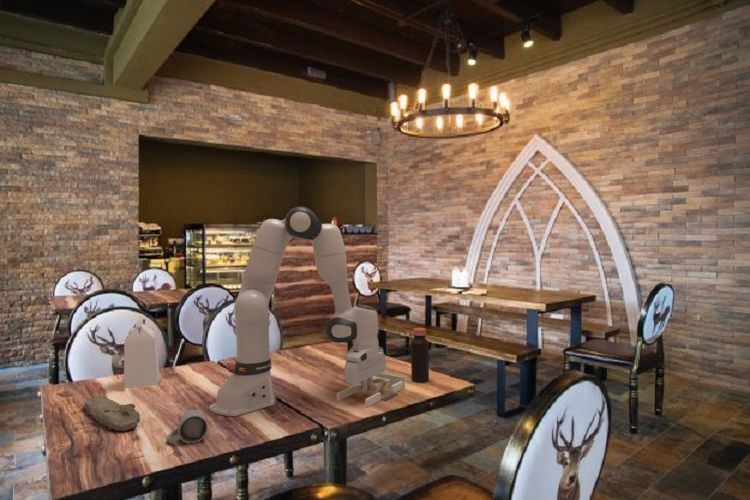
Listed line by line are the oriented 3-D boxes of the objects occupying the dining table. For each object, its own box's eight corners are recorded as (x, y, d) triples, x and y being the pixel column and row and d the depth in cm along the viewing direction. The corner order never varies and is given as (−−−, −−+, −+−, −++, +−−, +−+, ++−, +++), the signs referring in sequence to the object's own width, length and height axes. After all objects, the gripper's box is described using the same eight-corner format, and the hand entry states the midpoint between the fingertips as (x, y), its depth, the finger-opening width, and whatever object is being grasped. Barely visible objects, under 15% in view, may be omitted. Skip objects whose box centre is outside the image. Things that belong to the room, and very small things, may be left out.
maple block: (376, 397, 168) (376, 385, 167) (362, 394, 171) (362, 383, 171) (390, 390, 175) (390, 379, 175) (376, 387, 178) (376, 376, 178)
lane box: (367, 407, 157) (367, 395, 157) (336, 400, 165) (336, 388, 165) (404, 387, 177) (404, 376, 177) (375, 382, 185) (375, 371, 184)
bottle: (430, 378, 188) (429, 327, 188) (427, 383, 182) (426, 331, 181) (413, 377, 190) (412, 327, 190) (409, 382, 184) (409, 330, 183)
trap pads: (385, 401, 163) (385, 400, 163) (346, 392, 172) (346, 391, 172) (403, 391, 173) (403, 390, 173) (365, 383, 182) (365, 383, 182)
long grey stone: (109, 405, 168) (77, 414, 161) (107, 390, 168) (75, 399, 161) (149, 425, 145) (114, 437, 137) (147, 407, 144) (112, 419, 137)
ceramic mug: (205, 430, 141) (204, 404, 140) (208, 440, 133) (207, 413, 133) (166, 437, 136) (165, 411, 136) (167, 449, 129) (165, 421, 129)
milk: (157, 387, 183) (155, 319, 182) (124, 391, 178) (121, 322, 178) (159, 378, 194) (157, 315, 193) (127, 382, 190) (125, 317, 189)
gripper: (375, 344, 178) (376, 381, 178) (341, 356, 161) (341, 396, 161) (389, 346, 174) (390, 383, 175) (356, 358, 158) (356, 400, 158)
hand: (366, 390), depth 168 cm, fingers closed
